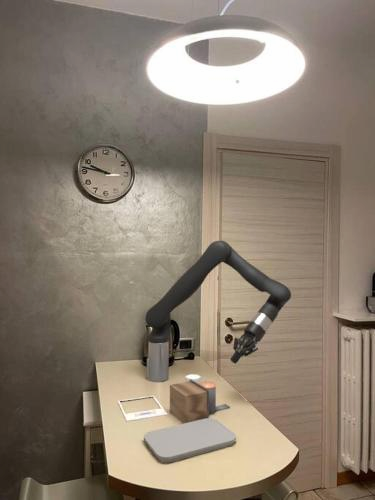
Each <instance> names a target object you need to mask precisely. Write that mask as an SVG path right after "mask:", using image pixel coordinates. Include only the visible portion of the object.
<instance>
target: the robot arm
mask: <svg viewBox="0 0 375 500" xmlns="http://www.w3.org/2000/svg"><path fill="white" fill-rule="evenodd" d="M221 263H223V264H226V265H227V266H229V267H230V268H232V269H233V270H234V271H236V272H237V273H238V274H239V275H240V276H241V277H242V278H243V279H244V280H245V282H247V283H248V284H250V285H251V286H252V287H253V288H255V289H257V290H258V291H259V292H261V293H267V294H269V296H268V298H267V299H266V301H265V303H264V304H262V306H260V309H259V310H258V311H257V313H255V315H254V316H253V317H252V318H251V319H250V321H249V322H248V324H247V325H246V326H245V327H244V328H243V332H244V333H242V334H241V336H240V337H239V338H238V337H234V339H233V347H232V349H233V350H234V353H233V354H232V356H231V357H230V361H231V362H232V363H233V364H237V363H238V362H239V360H240V359H241V358H242V357H248V356H249V355H251V354H254V353H255V352H256V351H258V350H259V347H258V346H257V344H258V343H259V342H261V341H262V339H263V338H264V337H265V335H266V334H267V333H268V331H269V330H270V327H271V326H272V324H273V322H275V320H276V318H277V317H278V315H279V313H280V312H281V310H282V308H284V306H285V305H286V304H287V302H288V301H290V300H291V297H292V292H291V290H290V289H289V287H288V286H286V285H285V284H283V283H282V282H280V281H278V280H275V279H273V278H271V277H269V276H268V275H267V274H265V273H264V272H263V271H262V270H260V269H258V268H257V266H256V267H255V266H254V265H253V264H251V263H250V262H249V261H248V260H246V259H245V258H244V257H242V256H241V255H240V254H239V253H238V252H237V251H236V250H235V249H234V248H233V247H232V246H231V244H229V243H228V242H226V241H225V240H215V241H213V242H211V243H210V244H209V245H208V246H207V248H206V249H205V251H204V252H203V254H202V255H201V256H200V257H199V258H198V260H197V261H196V262H195V263H194V264H192V265H191V266H190V267H189V268H188V269H187V270H186V271H185V272H184V273H183V274H182V275H181V276H180V277H179V278H178V279H177V280H176V281H175V283H174V284H173V285H172V286H171V287H170V289H168V291H167V292H166V293H165V294H164V295H163V297H162V298H161V299H160V300H158V301H157V303H155V304H154V305H153V306H152V307H149V309H148V310H147V312H146V314H145V323H146V325H147V326H148V327H150V328H151V332H150V333H149V334H148V357H147V358H146V380H149V381H150V382H156V383H157V382H158V383H159V382H165V381H167V380H169V365H170V363H169V360H170V358H169V356H170V355H169V349H170V348H169V347H170V346H169V337H170V335H171V323H172V322H171V319H172V318H171V313H172V312H173V311H174V310H175V309H176V308H177V307H179V306H181V305H182V304H183V303H184V302H186V301H187V300H188V299H190V298H191V297H192V296H193V295H195V293H196V292H197V291H198V289H200V287H201V286H202V284H204V282H205V280H206V278H207V276H208V275H209V274H210V273H211V272H212V271H213V270H214V269H215V268H216V267H217V266H219V265H220V264H221Z"/></svg>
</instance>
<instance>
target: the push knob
mask: <svg viewBox="0 0 375 500" xmlns="http://www.w3.org/2000/svg"><path fill="white" fill-rule="evenodd" d="M199 384H200V385H202V386H203V387H205V388H207V389H208V390H209V414H213V413H216V412H215V410H216V406H217V404H216V400H217V399H216V396H217V395H216V392H217V391H216V390H217V389H216V387H217V385H216V382H213V381H210V380H209V381H201V383H199ZM212 412H213V413H212Z"/></svg>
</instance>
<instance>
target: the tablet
mask: <svg viewBox="0 0 375 500" xmlns="http://www.w3.org/2000/svg"><path fill="white" fill-rule="evenodd" d="M236 439H237V435H236V434H235V432H233V431H232V430H231V429H230V428H228V427H227V426H226V425H224V424H223V423H222V422H220V421H219V420H218V419H215V418H212V417H209V418H206V419H201V420H197V421H193V422H188V423H184V424H183V423H180V424H176V425H172V426H167V427H163V428H158V429H154V430H150V431H147V432H145V433H144V435H143V440H144V442H145V444H146V445H147V447H148V448H149V449H150V450H151V452H152V453H153V454H154V455H155V457H156V458H157V460H158V461H160V462H161V463H164V464H165V463H166V464H167V463H172V462H177V461H180V460H183V459H187V458H191V457H194V456H198V455H202V454H204V453H208V452H212V451H215V450H220V449H223V448H226V447H229V446H232V445H233V444H234V443H235V441H236Z"/></svg>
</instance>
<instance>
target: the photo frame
mask: <svg viewBox="0 0 375 500" xmlns="http://www.w3.org/2000/svg"><path fill="white" fill-rule="evenodd" d="M149 397H151V398H153V400H154V402H155V403H156V405H157V406H158V407H159V408H156V409H150V410H143V411H136V412H130V413H129V412H128V413H126V412H125V410H124V408H123V405H122V403H121V402H120V401H123V402H129V401H128V400H130V401H136V400H143V398H144V399H150V398H149ZM117 404H118V406H119V408H121V409H120V411H121V413H122V415H123V417H124V419H125V421H126V423H130V422H135V421H141V420H147V419H154V418H160V417H167V416H168V413H167V411H166V410H165V409H164V407H163V406H162V405H161V403H160V402H159V401H158V399H157V398H156V397H155V395H149V396H142V397H136V398H128V399H123V400H117Z"/></svg>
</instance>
